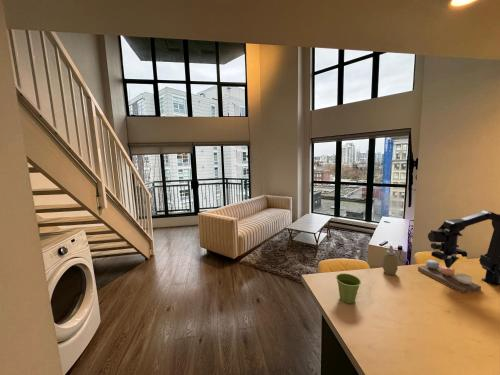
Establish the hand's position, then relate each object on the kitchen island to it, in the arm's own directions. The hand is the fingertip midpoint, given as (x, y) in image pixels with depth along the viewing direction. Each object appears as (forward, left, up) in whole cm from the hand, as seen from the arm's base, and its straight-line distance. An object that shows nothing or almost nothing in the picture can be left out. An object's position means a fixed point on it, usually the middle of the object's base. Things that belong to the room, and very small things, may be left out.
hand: (447, 267), depth 125 cm
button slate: (0, -8, -6) cm, 11 cm away
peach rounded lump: (0, 0, -6) cm, 6 cm away
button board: (0, 0, -8) cm, 8 cm away
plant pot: (+68, +3, -8) cm, 69 cm away
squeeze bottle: (+26, -14, -8) cm, 31 cm away
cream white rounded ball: (0, +9, -6) cm, 11 cm away
